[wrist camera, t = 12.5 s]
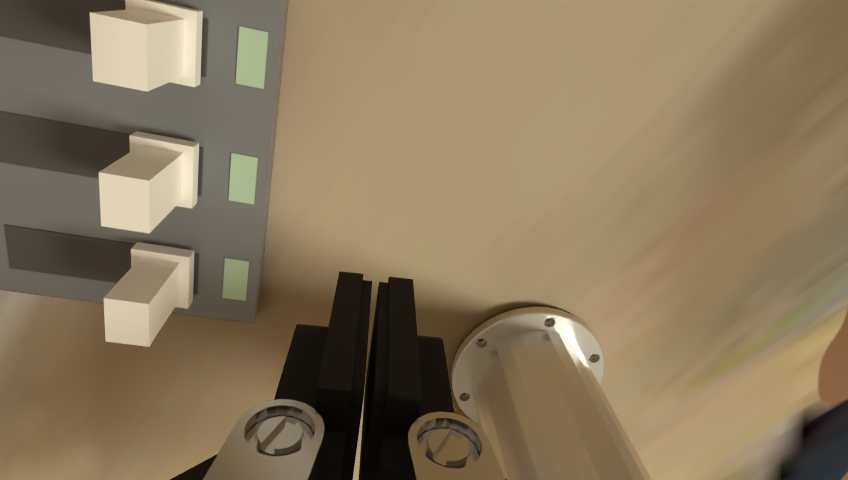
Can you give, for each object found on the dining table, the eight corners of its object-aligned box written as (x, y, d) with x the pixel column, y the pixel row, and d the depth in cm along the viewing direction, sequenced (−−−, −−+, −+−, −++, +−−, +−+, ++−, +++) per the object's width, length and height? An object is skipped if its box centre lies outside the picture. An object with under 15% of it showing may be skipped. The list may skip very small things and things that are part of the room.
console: (258, 311, 39) (253, 324, 38) (-35, 272, 36) (-53, 283, 35) (288, -2, 30) (283, -1, 29) (-98, -90, 27) (-125, -94, 26)
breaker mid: (197, 202, 33) (161, 243, 28) (137, 192, 33) (89, 232, 27) (199, 142, 32) (161, 173, 26) (136, 131, 31) (85, 160, 26)
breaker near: (200, 84, 30) (160, 104, 25) (134, 71, 30) (79, 89, 24) (202, 11, 29) (160, 15, 23) (133, -4, 28) (74, -3, 23)
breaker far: (192, 300, 36) (159, 354, 31) (138, 293, 36) (94, 347, 30) (194, 250, 35) (159, 298, 29) (137, 242, 34) (91, 289, 29)
